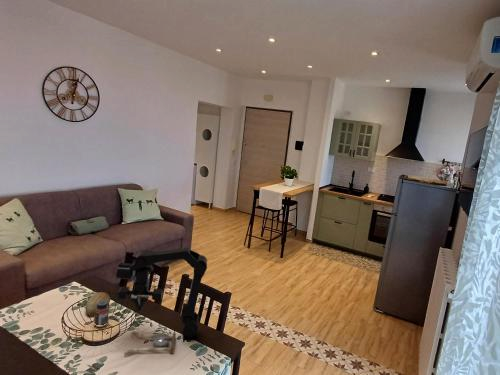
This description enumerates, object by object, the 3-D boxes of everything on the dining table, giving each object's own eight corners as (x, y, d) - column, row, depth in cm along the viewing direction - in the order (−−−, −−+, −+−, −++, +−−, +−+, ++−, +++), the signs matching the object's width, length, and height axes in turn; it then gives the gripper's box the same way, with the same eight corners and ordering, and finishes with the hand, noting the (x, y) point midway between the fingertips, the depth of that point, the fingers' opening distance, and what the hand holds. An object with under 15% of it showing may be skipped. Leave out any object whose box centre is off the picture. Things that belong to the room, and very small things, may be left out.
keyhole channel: (175, 335, 152) (176, 329, 151) (172, 357, 138) (172, 351, 137) (131, 334, 149) (131, 328, 148) (123, 356, 135) (123, 350, 134)
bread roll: (114, 302, 171) (114, 288, 169) (100, 319, 156) (101, 304, 155) (96, 299, 171) (96, 286, 169) (80, 316, 156) (81, 301, 155)
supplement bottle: (92, 322, 153) (93, 300, 151) (106, 319, 157) (107, 297, 154) (95, 329, 149) (96, 307, 146) (109, 325, 152) (110, 304, 150)
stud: (169, 340, 148) (170, 333, 147) (167, 351, 141) (168, 343, 140) (153, 340, 147) (154, 332, 146) (151, 351, 140) (151, 343, 139)
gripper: (165, 271, 153) (163, 301, 156) (124, 269, 150) (122, 299, 153) (162, 283, 142) (159, 315, 145) (117, 281, 140) (116, 313, 143)
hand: (139, 310), depth 147 cm, fingers closed
